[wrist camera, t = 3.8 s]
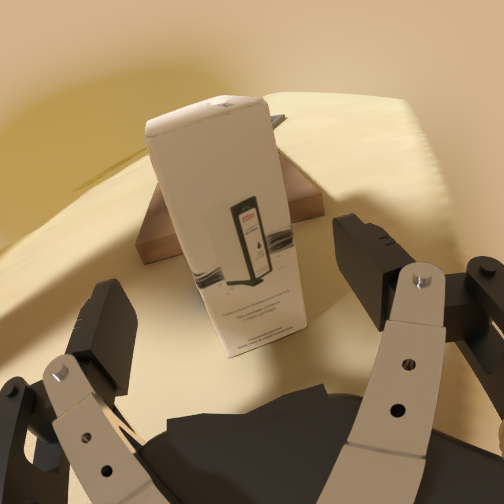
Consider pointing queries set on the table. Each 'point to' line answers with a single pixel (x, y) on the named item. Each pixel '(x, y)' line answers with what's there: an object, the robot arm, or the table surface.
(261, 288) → the ink box
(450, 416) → the table surface
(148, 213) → the walnut board
